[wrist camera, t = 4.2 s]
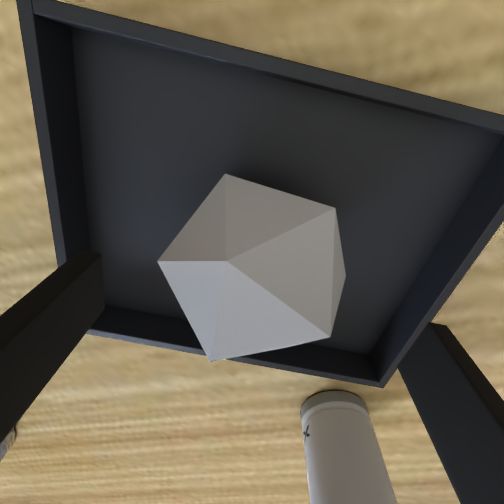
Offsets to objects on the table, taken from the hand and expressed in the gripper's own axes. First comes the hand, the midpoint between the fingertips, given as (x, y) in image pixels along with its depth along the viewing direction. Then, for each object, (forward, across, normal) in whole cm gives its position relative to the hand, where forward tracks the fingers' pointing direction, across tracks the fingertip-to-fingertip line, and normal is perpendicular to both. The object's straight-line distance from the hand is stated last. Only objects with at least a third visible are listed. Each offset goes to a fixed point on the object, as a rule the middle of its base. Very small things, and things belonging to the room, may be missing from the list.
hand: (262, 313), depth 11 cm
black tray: (+8, 0, 0) cm, 8 cm away
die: (+8, 0, 0) cm, 8 cm away
